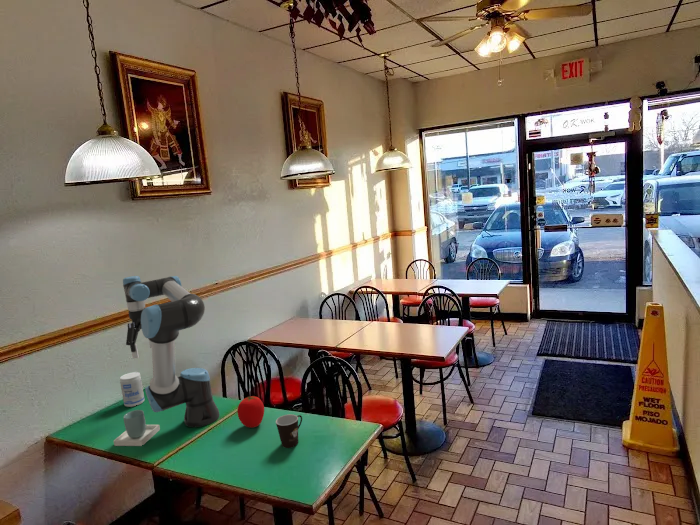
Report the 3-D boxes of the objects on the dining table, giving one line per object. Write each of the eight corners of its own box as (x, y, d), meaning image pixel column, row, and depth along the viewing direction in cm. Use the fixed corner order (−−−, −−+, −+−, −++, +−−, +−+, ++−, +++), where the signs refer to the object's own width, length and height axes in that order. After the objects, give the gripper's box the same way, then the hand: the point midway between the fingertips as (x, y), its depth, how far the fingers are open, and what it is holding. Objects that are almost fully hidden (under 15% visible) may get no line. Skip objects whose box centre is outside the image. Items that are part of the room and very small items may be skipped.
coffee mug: (283, 452, 181) (280, 427, 180) (276, 442, 189) (272, 419, 187) (311, 442, 186) (308, 418, 185) (303, 432, 194) (300, 409, 192)
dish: (160, 429, 210) (159, 424, 210) (142, 445, 197) (141, 440, 197) (133, 429, 213) (132, 424, 212) (114, 445, 200) (113, 440, 200)
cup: (139, 440, 200) (135, 418, 198) (123, 440, 202) (119, 418, 200) (151, 431, 208) (147, 409, 206) (135, 431, 209) (131, 409, 208)
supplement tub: (126, 409, 235) (120, 381, 232) (122, 403, 242) (117, 376, 240) (147, 402, 240) (142, 374, 238) (142, 396, 248) (137, 370, 245)
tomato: (248, 435, 197) (243, 406, 195) (235, 427, 205) (231, 399, 203) (271, 424, 204) (267, 396, 202) (258, 416, 212) (254, 389, 210)
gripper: (145, 302, 236) (153, 343, 239) (112, 317, 212) (120, 363, 215) (159, 301, 234) (166, 343, 238) (127, 316, 210) (135, 362, 214)
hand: (144, 352), depth 227 cm, fingers open, 13 cm apart
